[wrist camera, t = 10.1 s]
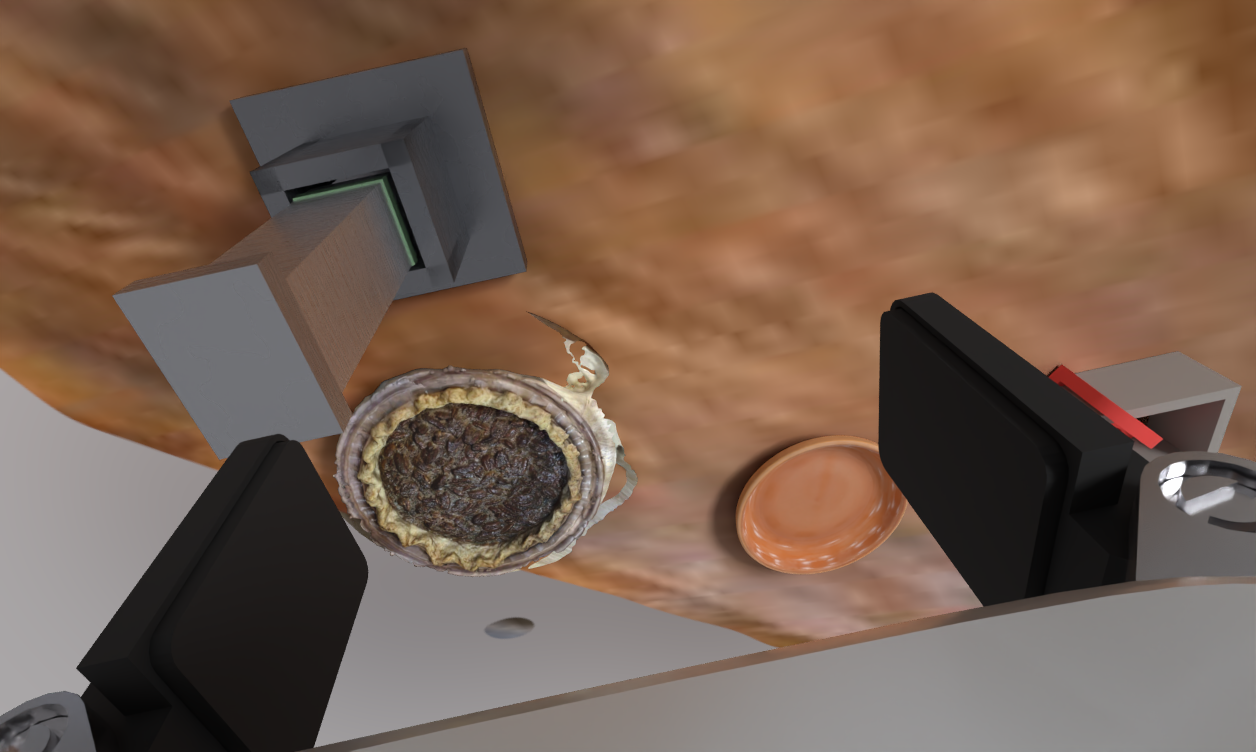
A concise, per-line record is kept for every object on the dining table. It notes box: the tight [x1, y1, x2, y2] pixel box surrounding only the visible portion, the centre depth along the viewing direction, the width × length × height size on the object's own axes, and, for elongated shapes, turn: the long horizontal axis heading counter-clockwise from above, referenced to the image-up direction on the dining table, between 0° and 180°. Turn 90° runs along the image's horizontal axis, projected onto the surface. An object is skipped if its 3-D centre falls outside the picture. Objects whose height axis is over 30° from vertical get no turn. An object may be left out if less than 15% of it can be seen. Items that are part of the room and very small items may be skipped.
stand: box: [230, 48, 527, 300], centre depth 38 cm, size 14×14×11 cm
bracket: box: [1049, 365, 1163, 449], centre depth 55 cm, size 12×4×8 cm, turn 57°
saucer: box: [736, 435, 908, 574], centre depth 59 cm, size 16×16×3 cm
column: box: [112, 171, 420, 460], centre depth 28 cm, size 6×5×17 cm
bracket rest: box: [1061, 351, 1241, 462], centre depth 56 cm, size 9×16×6 cm, turn 101°
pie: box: [333, 311, 637, 577], centre depth 52 cm, size 28×27×5 cm
